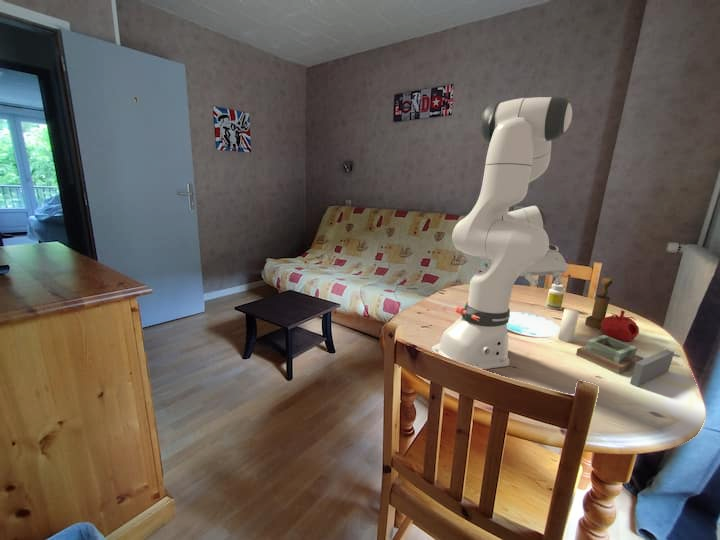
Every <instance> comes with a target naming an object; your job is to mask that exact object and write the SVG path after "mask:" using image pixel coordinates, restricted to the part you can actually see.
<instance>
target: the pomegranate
mask: <svg viewBox="0 0 720 540" xmlns="http://www.w3.org/2000/svg"><path fill="white" fill-rule="evenodd" d="M625 312H626V311H625V310H620V315H618V314H616V313H613V312H611V314H612V315H611V316H605V318H604V319H603V320H602V322H601V332H602V333H603V335H606V336H608V337H611V338H614V339H616V340H619V341H622V342H631V341H633V340H635V339H636V338H637V337H638V335H639V332H640V328H639V326H638V325H637V323H636V322H635V321H634V320H635V317H633V316H631V317H630V316H625Z"/></svg>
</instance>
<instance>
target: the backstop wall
mask: <svg viewBox="0 0 720 540" xmlns="http://www.w3.org/2000/svg"><path fill="white" fill-rule="evenodd" d="M674 355H675V351H673V350H669V349H664V350H662V351H659V352H658V353H657V352H656V353H654V354H652V355H650V356H648V357H645V358H643V360H640V361H638V362H636V363H635V367H634V368H633V371H632V375H631V378H630V381H629V384H630V385H633V386H635V387H640V386H642V385H644V384H646V383H649V382H650V381H652V380H655V379H657V378H659V377H661V376H662V375H664V374H667V373H668V372H669V371H670V368H671V364H672V361H673V357H674Z"/></svg>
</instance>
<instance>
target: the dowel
mask: <svg viewBox="0 0 720 540" xmlns="http://www.w3.org/2000/svg"><path fill="white" fill-rule="evenodd" d="M579 313H580V312H579V311H578V310H577V309H573V308H564V309H563V314H562V316H561V317H562V318H561V323H560V328H559V331H558V332H559V333H558V340H560V341H561V342H564V343H573V342H574V337H575V333H576V327H577V324H578V323H577V322H578V319H579Z"/></svg>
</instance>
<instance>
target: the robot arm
mask: <svg viewBox="0 0 720 540" xmlns="http://www.w3.org/2000/svg"><path fill="white" fill-rule="evenodd" d="M572 118H573V108H572V105H571V101H570V99H569V98H567V96H561V95H553V96H549V97H547V96H544V97H543V96H541V97H540V96H538V97H520V98H515V99H511V100H506V101H498V102H494V103H491V104H489V105H488V106H487V107H486V108H485V110H483V112H482V115H481V118H480V119H481V120H480V136H481V137H482V139H484V141H485V142H487V143H488V144H489V146H488V150H487V153H486V159H485V165H484V172H483V178H482V184H481V187H480V188H481V189H480V193H479V196H478V197H477V198H478V199H477V201H476V203H475V204H474V206H473V208H472V209H471V211H469V213H468V214H467V215H466V216H465V217H463V218H462V219H460V220H459V221H458V222H457V223H456V224H455V226H454V228H453V230H452V234H451V240H452V243H453V247H454V248H455V249H456V250H458V251H460V252H462V253H464V254H466V255H469V256H473V257H478V258H484V259H487V260H491V261H490V265H489V267H488V269H486V270H483V271H479V272H478V273H477V272H476V273H475V274H474V275H473V276H472V278H471V279H470V282H469V289H468V297H467V302H466V304H465V305H464V307H462V306H459V305H458V306H456V308H455V313H457V314H458V315H461V316H460V317H459V318H458V319H456V321H454V323H452V324H451V325H450V326H449V327H448V328H447V329H445V330H444V331H443V333H442V335H441V339H440V342H439V343H436V344H434V345H432V347H431V352H432V351H433V352H435V353H438V354H440V355H442V356H444V357H447V358H450V359H453V360H456V361H460V362H463V363H466V364H469V365H472V366H476V367H478V368H482V369H483V370H490V369H494V368H495V369H497V368H500V367H501V368H503V367H509V366H510V364H511V363H510V359H509V354H508V353H509V332H508V327H507V325H508V323H509V319H510V316H511V315H510V312H511V311H510V310H511V309H510V303H511V296H512V292H513V288H514V285H515V282H516V281H517V279H518V278H519V277H524V278H525V280H527V281H528V282H529V283H530V285H531V286H532V287H537V286H539V285H540V284H539V282H538V279H535V278H534V276H553V277H554V279H555V280H553V284H555V285H563V282H562V279H561V278H562V275H563V274H565V273H566V272H567V271H569V270H568V269H569V267H568V266H569V265H568V263H567V262H566V260H565V259H564V256H563V255H562V254H561V253H560V252H559V247H558V246H556V245H554V244H550V239H549V236H548V233H547V232H546V230H545V228H546V226H547V225H548V217H547V214H546V212H545V210H544V209H542V207H540V206H537V205H531V206H527V207H522V208H519V209H515V210H512V211H509V209H510V208H511V207H513V206H515V205H518V204H519V203H521V202H522V201H524V199H525V198H526V196H527V194H528V190H529V183H531V182H532V181H533V182H534V181H535V180H537V179H538V178H540V177H541V175H543V174H544V173H545V171H546V170H547V169H548V168H549V164H550V161H551V156H552V154H551V153H552V141H555V140H558V139H560V138H561V137H562V136H564V135H565V134H566V133H567V130H568V129H569V126H570V124H571V123H572ZM433 352H432V353H433Z"/></svg>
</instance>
